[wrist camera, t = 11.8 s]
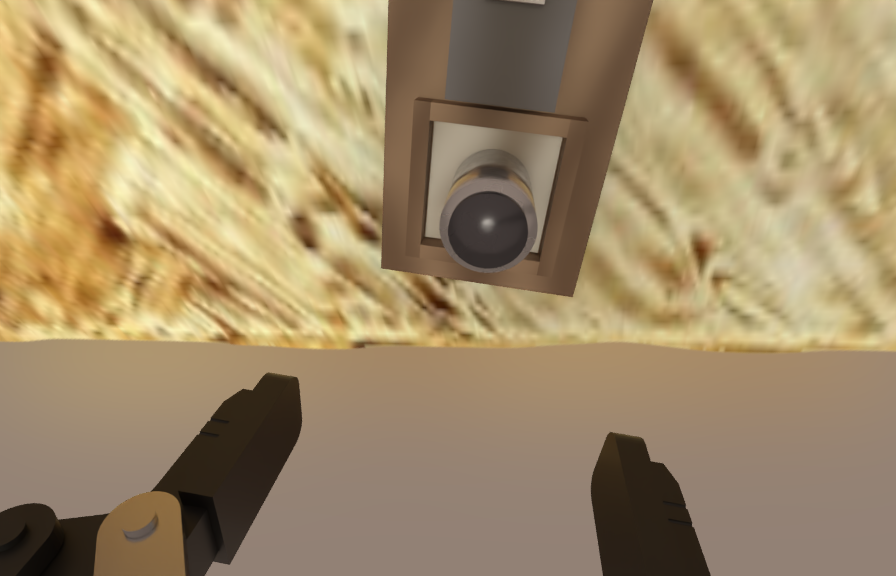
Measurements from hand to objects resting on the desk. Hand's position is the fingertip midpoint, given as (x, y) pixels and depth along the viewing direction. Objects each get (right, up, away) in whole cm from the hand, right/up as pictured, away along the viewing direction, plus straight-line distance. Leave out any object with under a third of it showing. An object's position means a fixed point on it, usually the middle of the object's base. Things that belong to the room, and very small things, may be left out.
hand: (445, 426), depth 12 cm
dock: (+3, +14, +17) cm, 22 cm away
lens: (+3, +10, +18) cm, 20 cm away
